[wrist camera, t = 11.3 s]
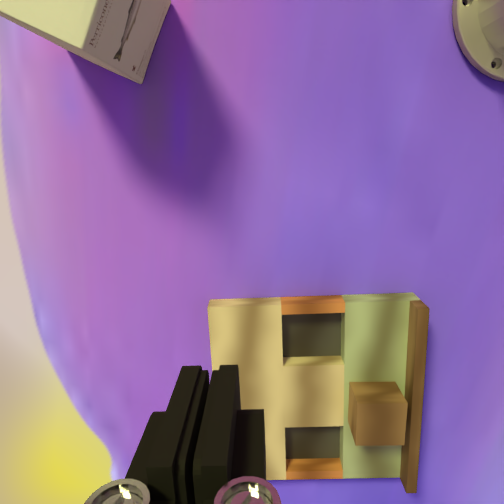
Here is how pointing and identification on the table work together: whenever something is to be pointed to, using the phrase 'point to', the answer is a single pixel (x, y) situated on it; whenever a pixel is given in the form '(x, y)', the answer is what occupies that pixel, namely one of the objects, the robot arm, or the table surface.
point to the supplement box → (96, 29)
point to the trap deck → (324, 376)
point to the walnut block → (377, 413)
